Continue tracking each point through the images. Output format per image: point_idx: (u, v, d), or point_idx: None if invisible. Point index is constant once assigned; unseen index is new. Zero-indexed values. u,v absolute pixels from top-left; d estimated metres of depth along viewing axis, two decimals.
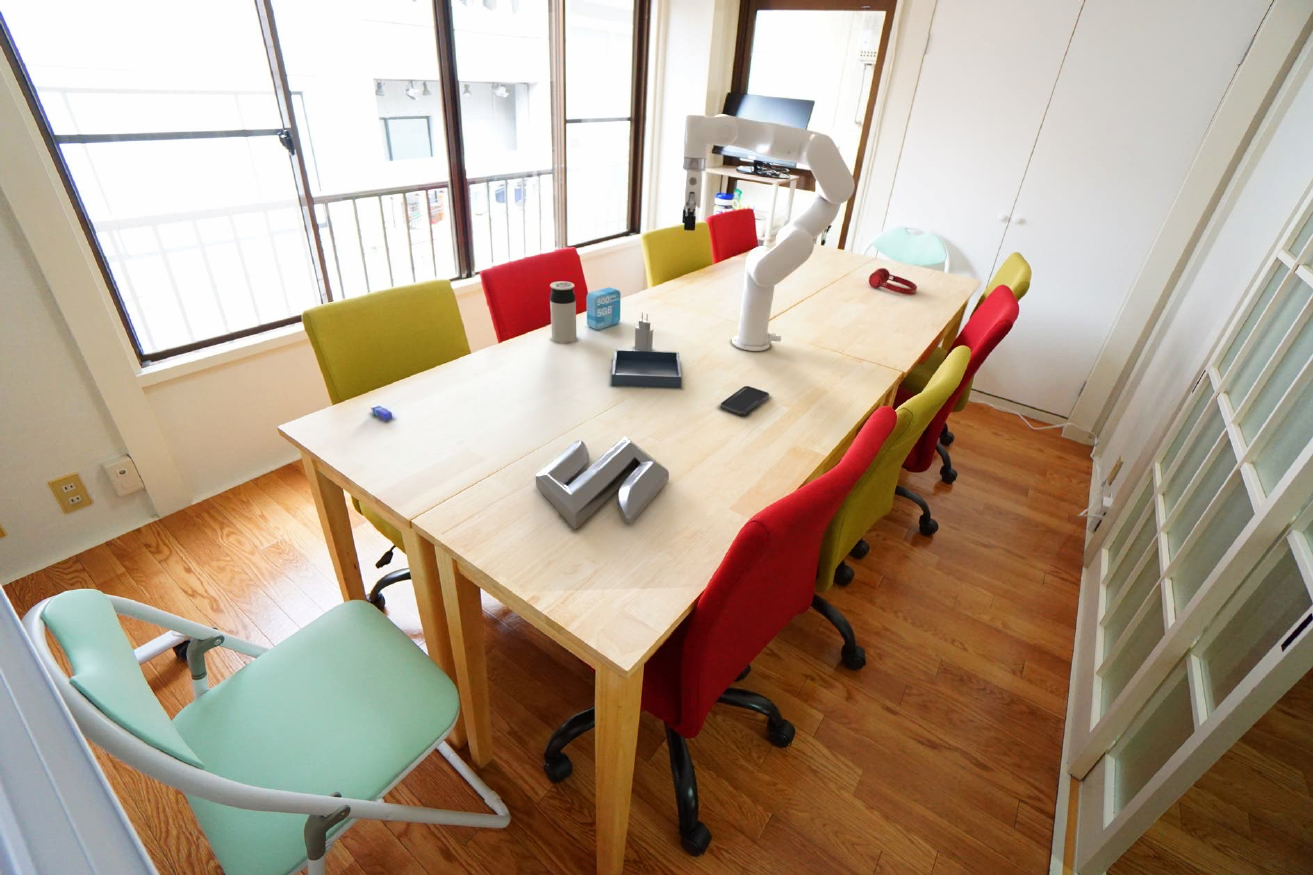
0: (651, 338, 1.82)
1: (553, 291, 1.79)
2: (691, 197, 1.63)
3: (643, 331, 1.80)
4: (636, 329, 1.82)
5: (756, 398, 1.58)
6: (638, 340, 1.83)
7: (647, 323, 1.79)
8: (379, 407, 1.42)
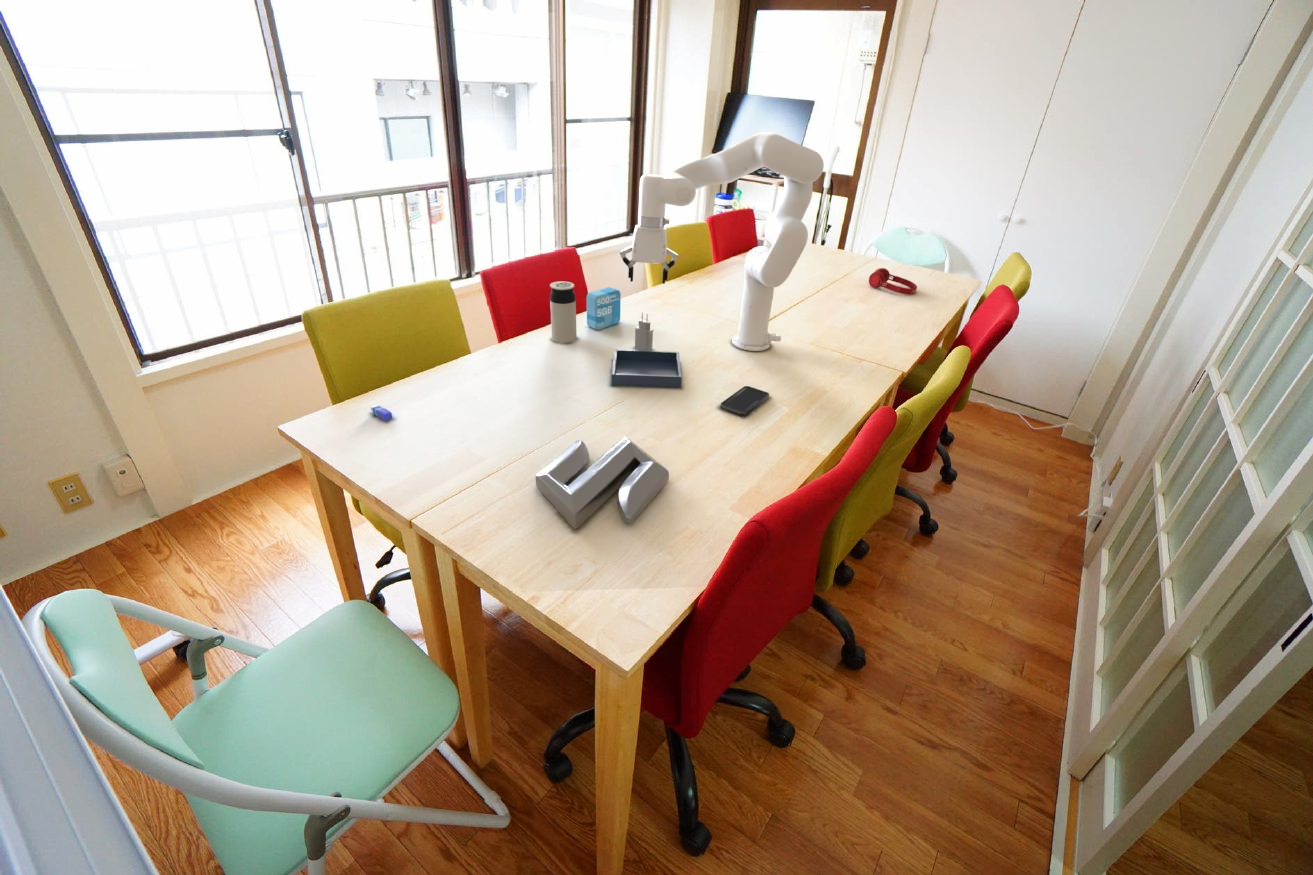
0: (651, 338, 1.82)
1: (553, 291, 1.79)
2: (672, 251, 1.69)
3: (643, 331, 1.80)
4: (636, 329, 1.82)
5: (756, 398, 1.58)
6: (638, 340, 1.83)
7: (647, 323, 1.79)
8: (379, 407, 1.42)
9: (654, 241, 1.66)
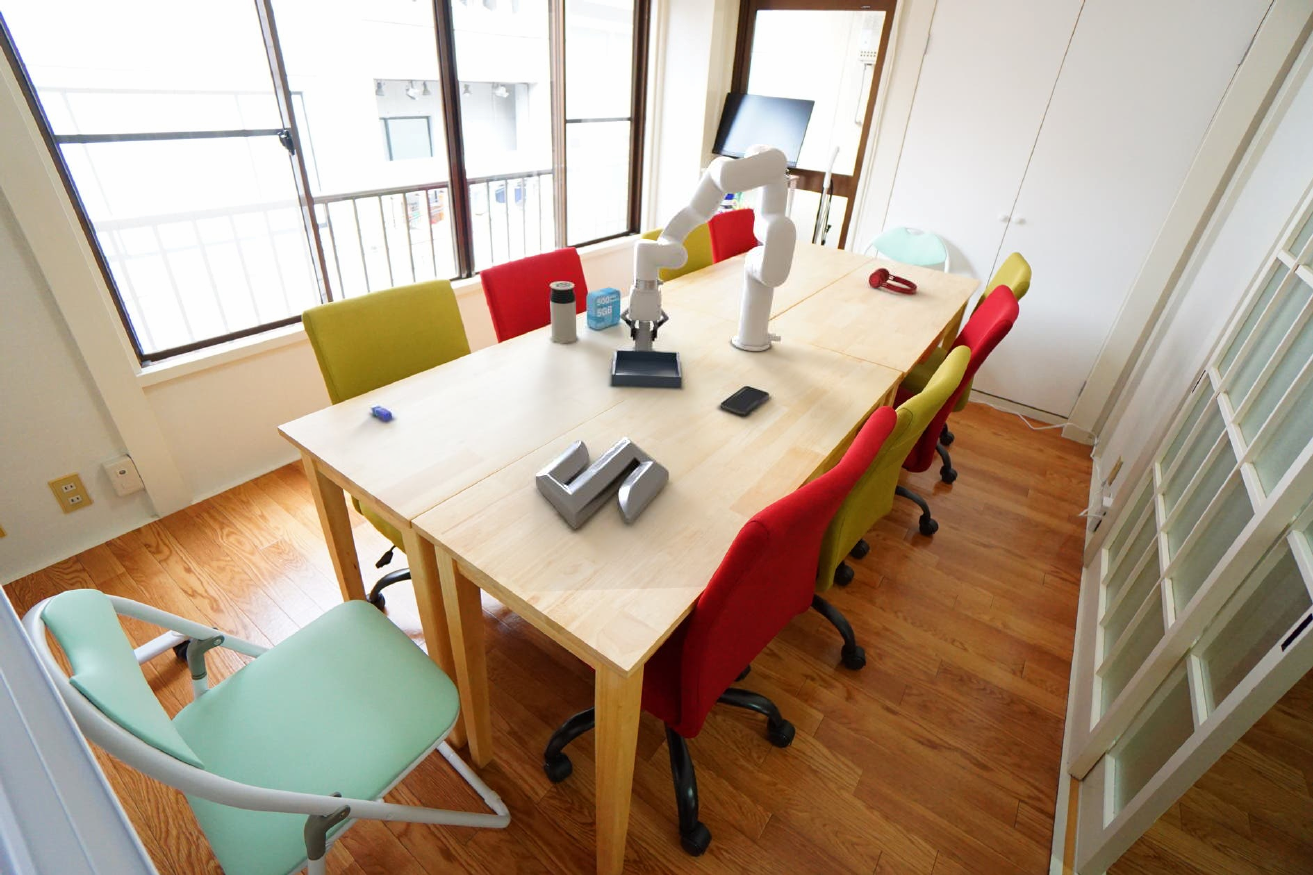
0: (651, 338, 1.82)
1: (553, 291, 1.79)
2: (664, 312, 1.79)
3: (643, 331, 1.80)
4: (636, 329, 1.82)
5: (756, 398, 1.58)
6: (638, 340, 1.83)
7: (647, 323, 1.79)
8: (379, 407, 1.42)
9: (649, 301, 1.74)
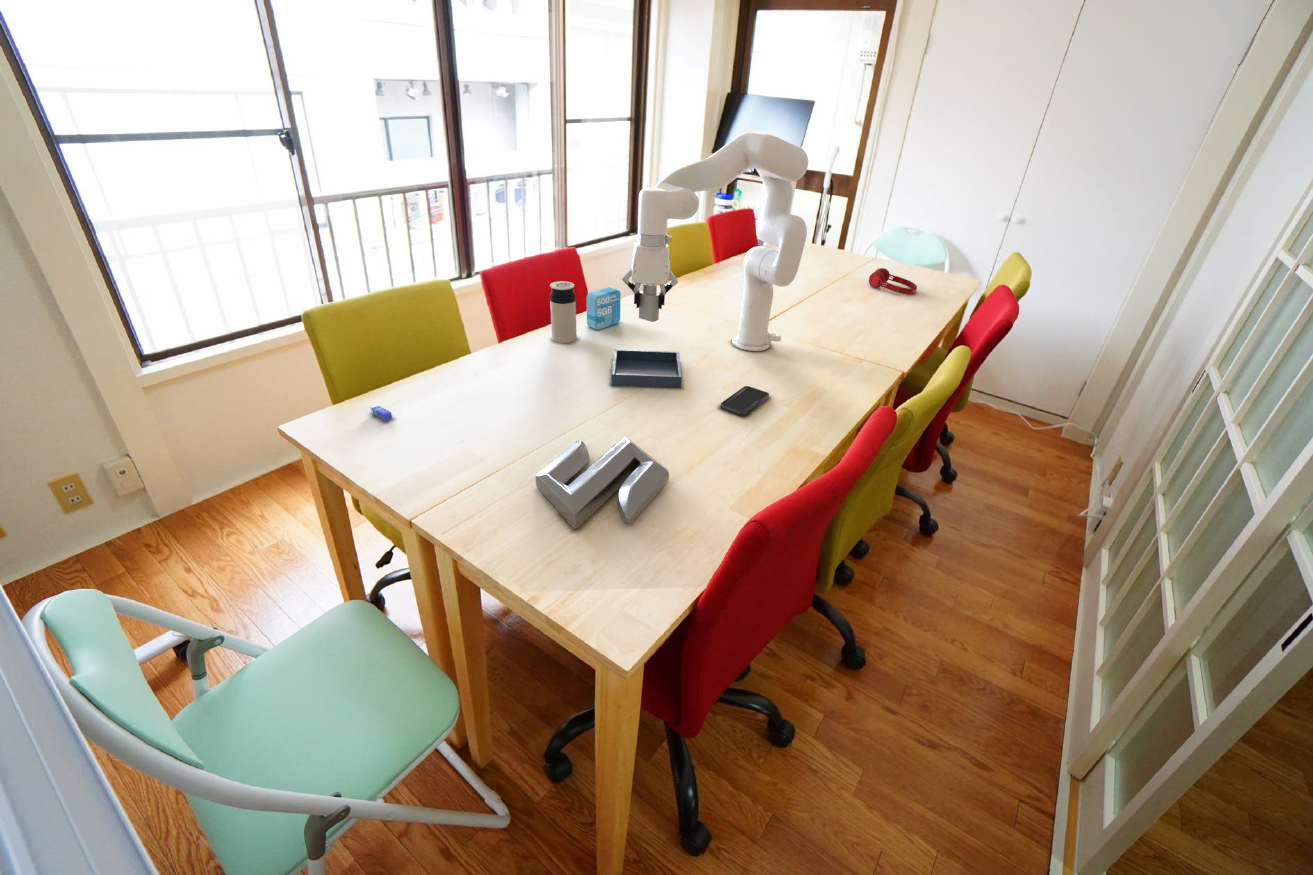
0: (657, 305, 1.59)
1: (553, 291, 1.79)
2: (673, 275, 1.55)
3: (648, 296, 1.57)
4: (640, 294, 1.58)
5: (756, 398, 1.58)
6: (642, 307, 1.60)
7: (653, 287, 1.56)
8: (379, 407, 1.42)
9: (656, 260, 1.51)
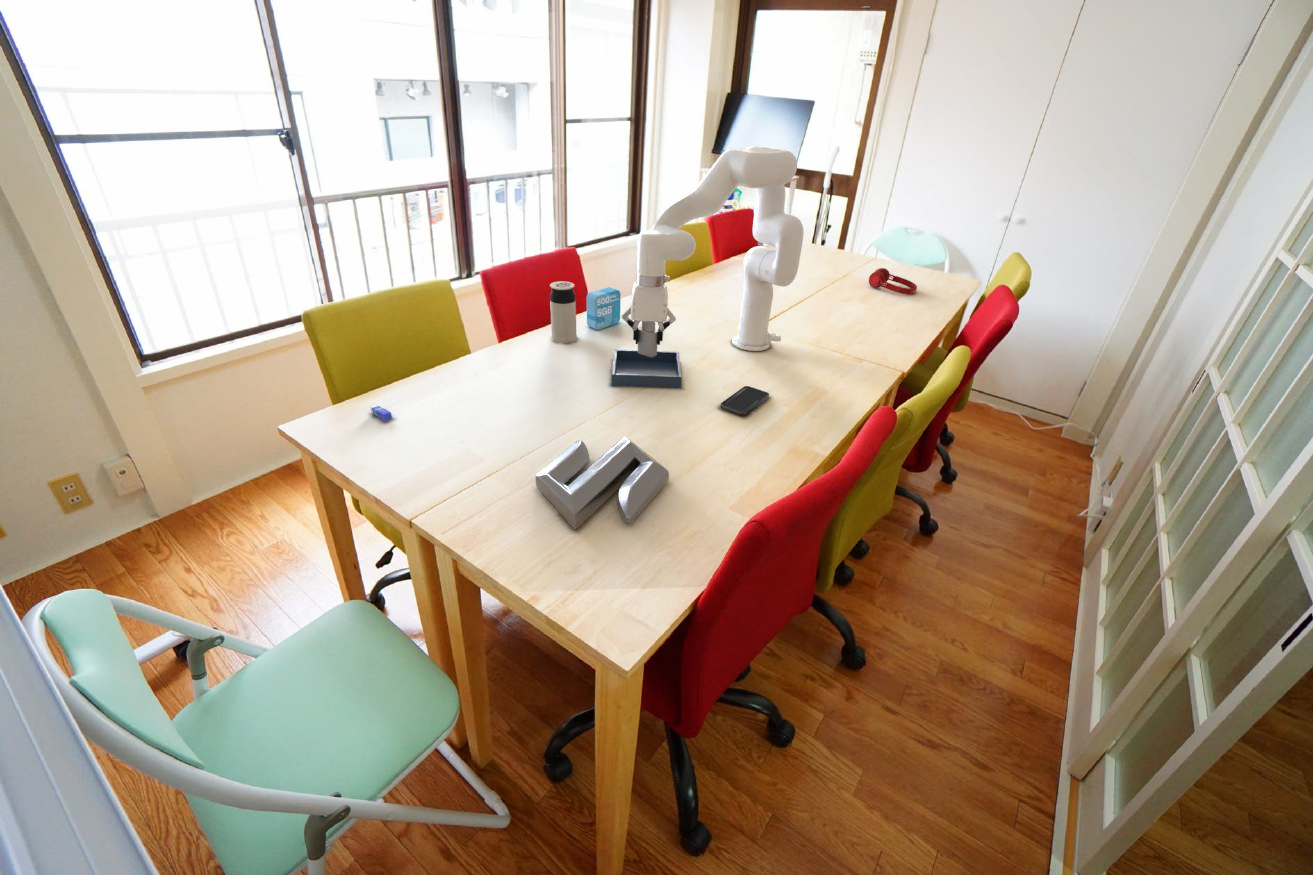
0: (656, 341, 1.63)
1: (553, 291, 1.79)
2: (671, 312, 1.60)
3: (647, 333, 1.62)
4: (639, 331, 1.63)
5: (756, 398, 1.58)
6: (641, 343, 1.64)
7: (652, 324, 1.61)
8: (379, 407, 1.42)
9: (654, 300, 1.56)
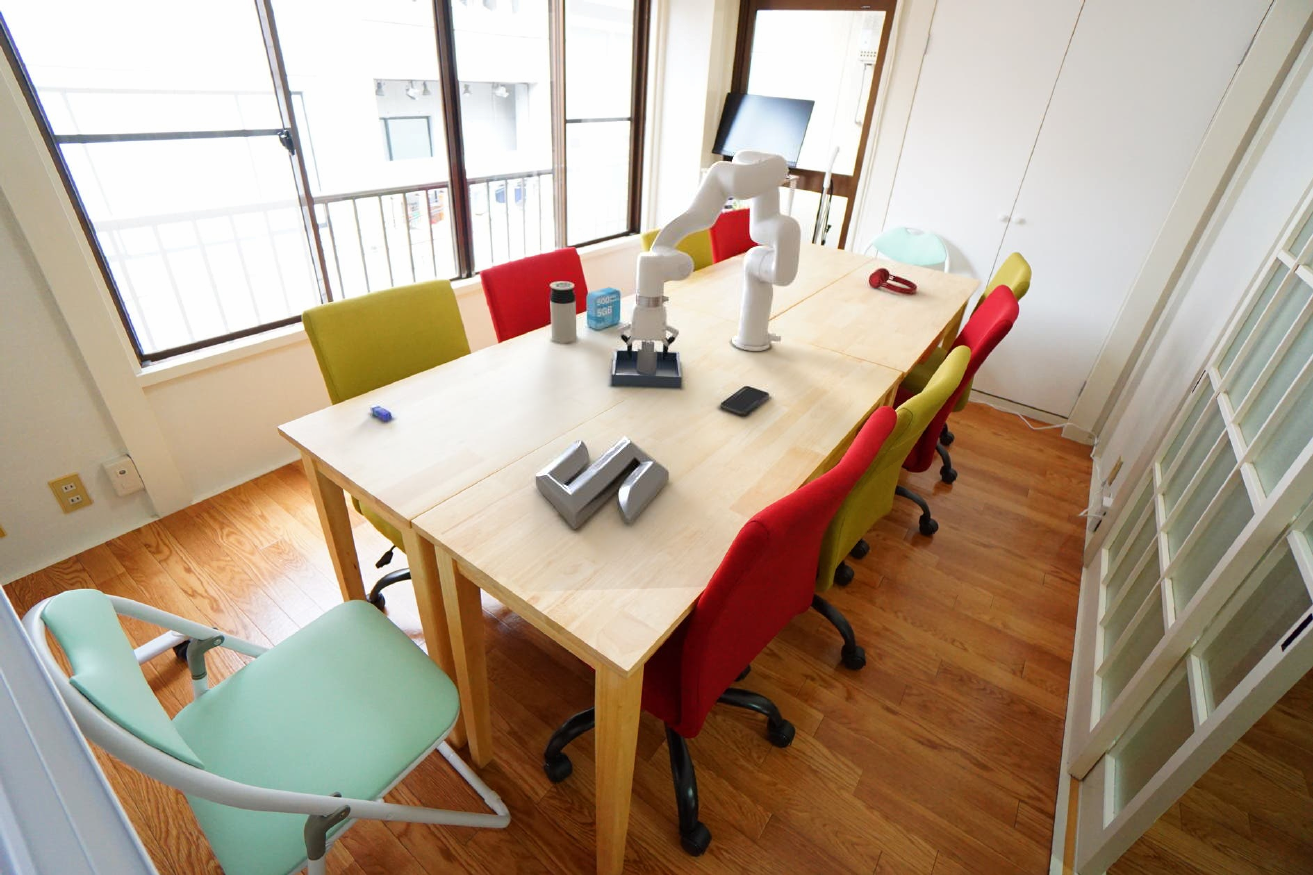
0: (655, 360, 1.66)
1: (553, 291, 1.79)
2: (672, 328, 1.62)
3: (646, 352, 1.65)
4: (639, 350, 1.66)
5: (756, 398, 1.58)
6: (641, 362, 1.67)
7: (651, 344, 1.64)
8: (378, 407, 1.42)
9: (653, 319, 1.59)
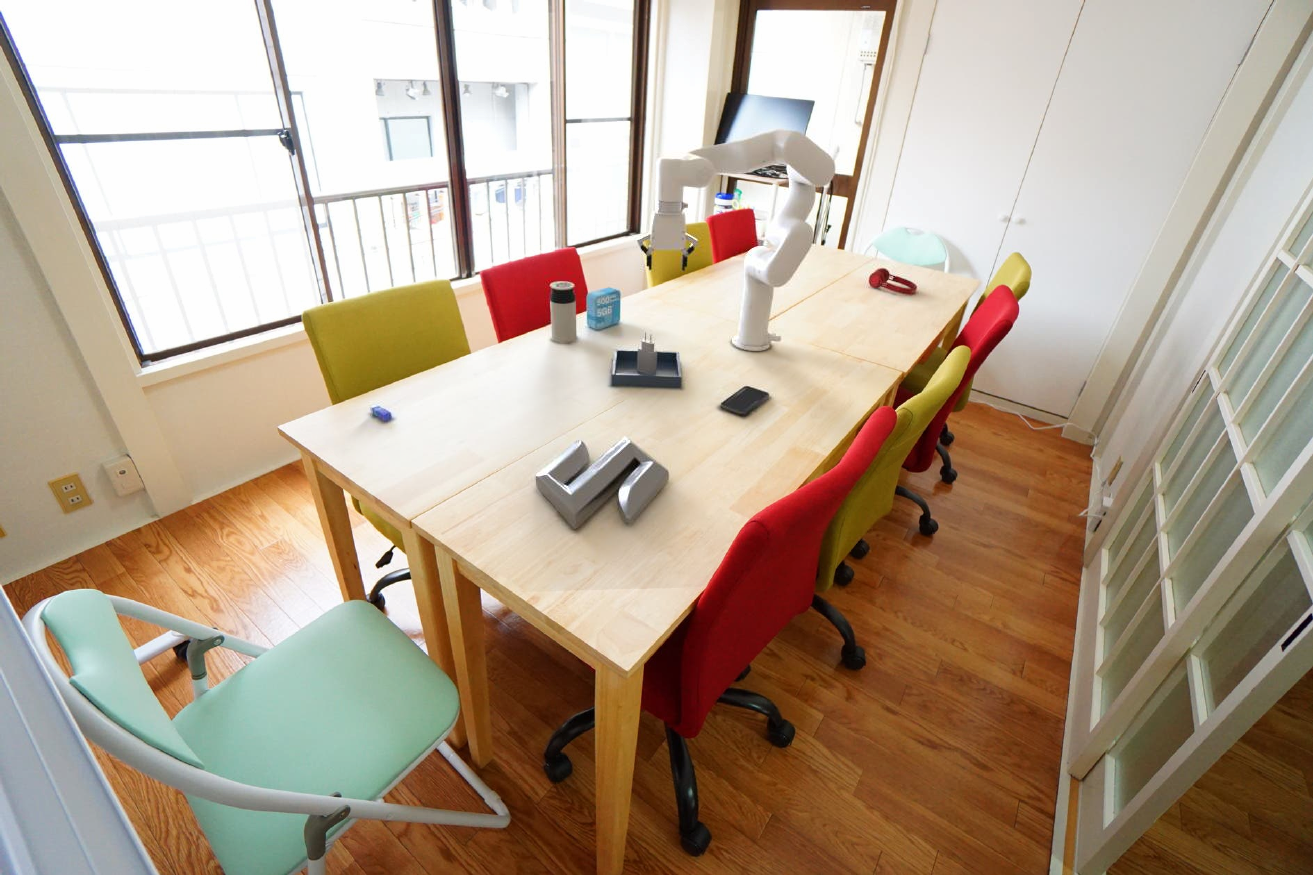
0: (655, 360, 1.66)
1: (553, 291, 1.79)
2: (691, 236, 1.63)
3: (646, 352, 1.65)
4: (639, 350, 1.66)
5: (756, 398, 1.58)
6: (641, 362, 1.67)
7: (651, 344, 1.64)
8: (378, 407, 1.42)
9: (673, 226, 1.59)
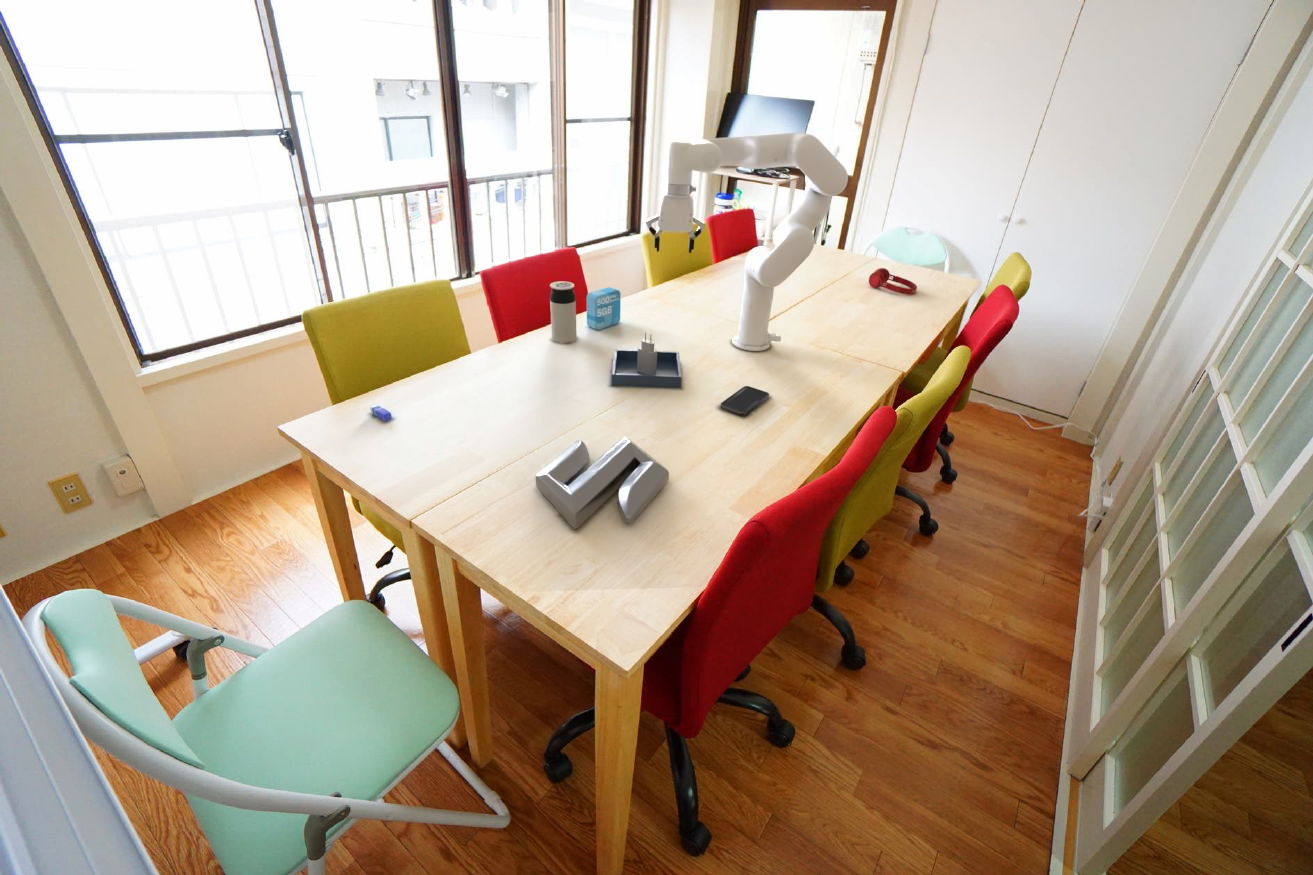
0: (655, 360, 1.66)
1: (553, 291, 1.79)
2: (698, 220, 1.68)
3: (646, 352, 1.65)
4: (639, 350, 1.66)
5: (756, 398, 1.58)
6: (641, 362, 1.67)
7: (651, 344, 1.64)
8: (378, 407, 1.42)
9: (681, 209, 1.64)
